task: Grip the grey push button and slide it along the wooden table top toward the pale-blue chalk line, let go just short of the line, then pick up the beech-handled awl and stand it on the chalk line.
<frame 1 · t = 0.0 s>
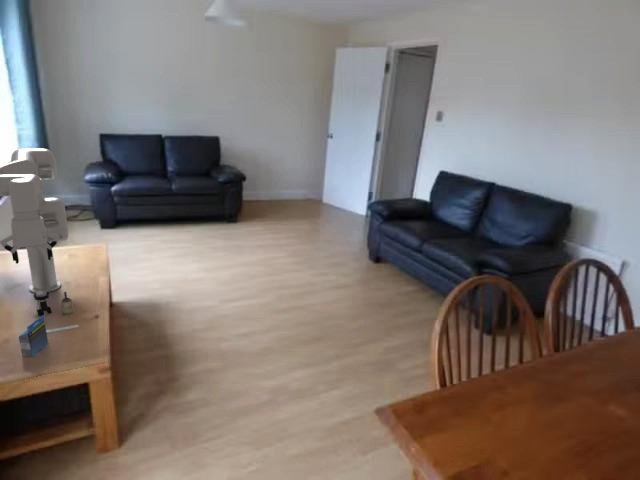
hand: (33, 260, 150), 31 cm above the table, tool pointing down, fingers open, 9 cm apart
push button: (42, 314, 174), on the table
chalk line: (59, 329, 165), on the table
awl: (67, 313, 176), on the table
label tape cartridge: (35, 350, 152), on the table
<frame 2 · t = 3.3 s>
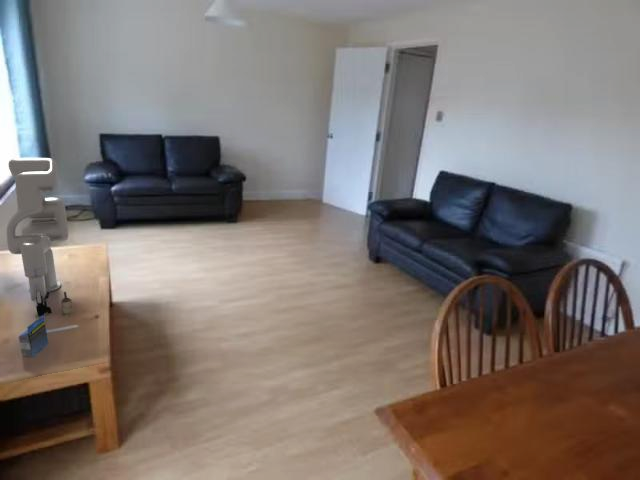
hand: (42, 310, 173), 2 cm above the table, tool pointing down, fingers closed on push button, 3 cm apart
push button: (42, 314, 174), on the table, touching gripper
everything else where it was.
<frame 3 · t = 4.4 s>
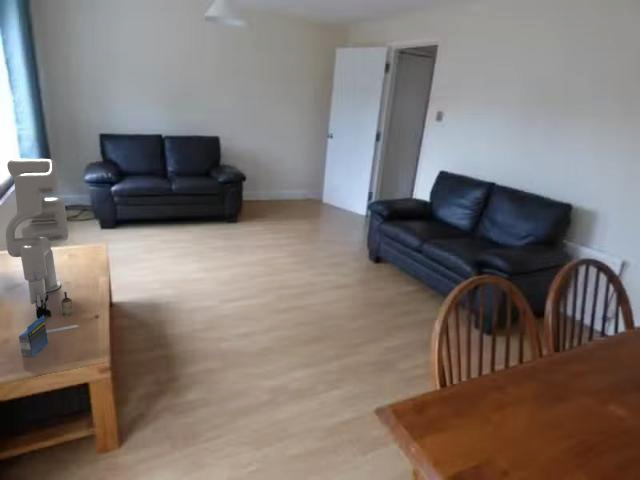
hand: (41, 314, 171), 2 cm above the table, tool pointing down, fingers closed on push button, 3 cm apart
push button: (42, 317, 171), on the table, touching gripper
everything else where it was.
when the fingers open (2 cm above the table, at t = 5.8 s): push button stays where it is, on the table.
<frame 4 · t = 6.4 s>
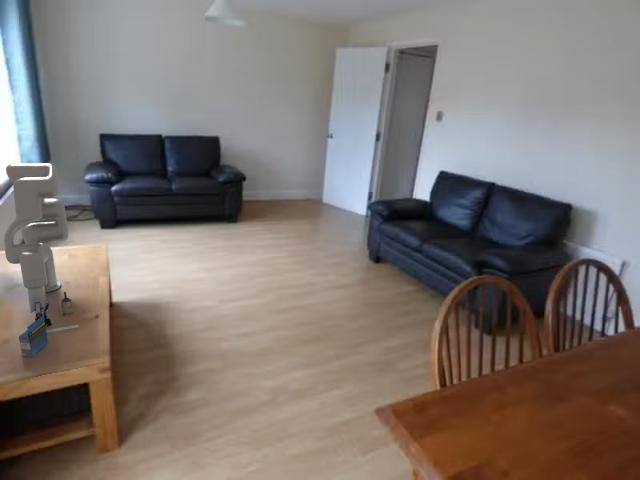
hand: (41, 320, 165), 3 cm above the table, tool pointing down, fingers open, 9 cm apart
push button: (42, 327, 166), on the table
everything else where it was.
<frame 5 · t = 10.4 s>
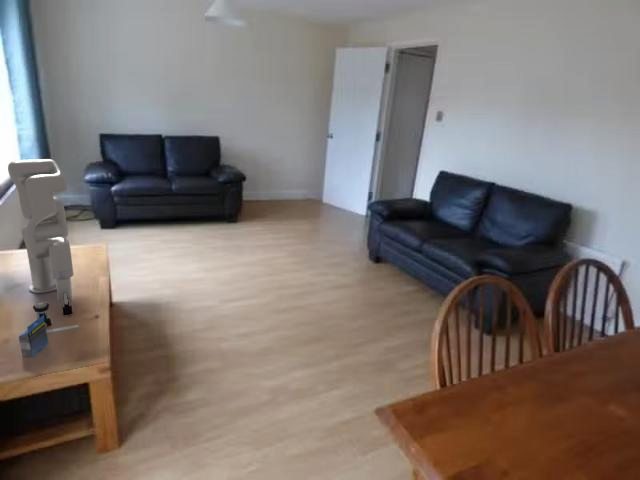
hand: (67, 311, 176), 1 cm above the table, tool pointing down, fingers closed on awl, 4 cm apart
awl: (67, 313, 176), on the table, touching gripper
everything else where it was.
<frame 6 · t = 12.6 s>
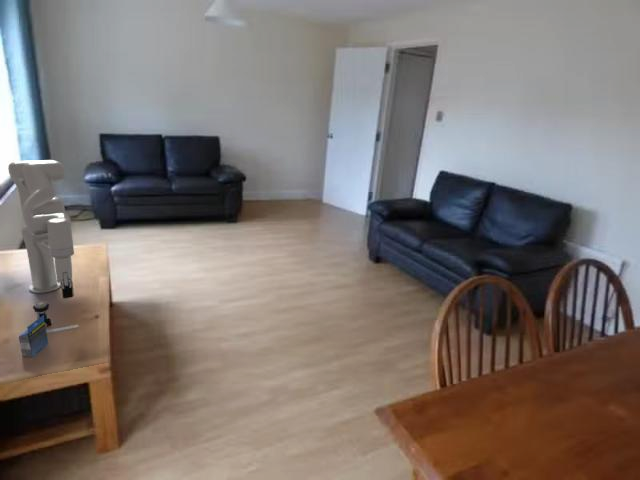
hand: (67, 294, 162), 15 cm above the table, tool pointing down, fingers closed on awl, 4 cm apart
awl: (68, 296, 162), point 14 cm above the table, touching gripper
everything else where it was.
when the fingers open (2 cm above the table, at t = 15.1 s): awl stays where it is, resting on chalk line.
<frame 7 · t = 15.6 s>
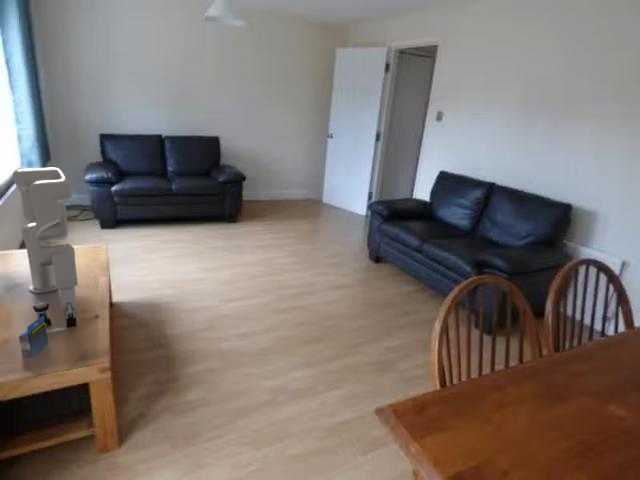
hand: (71, 320, 166), 3 cm above the table, tool pointing down, fingers open, 9 cm apart
awl: (72, 326, 167), resting on chalk line
everything else where it was.
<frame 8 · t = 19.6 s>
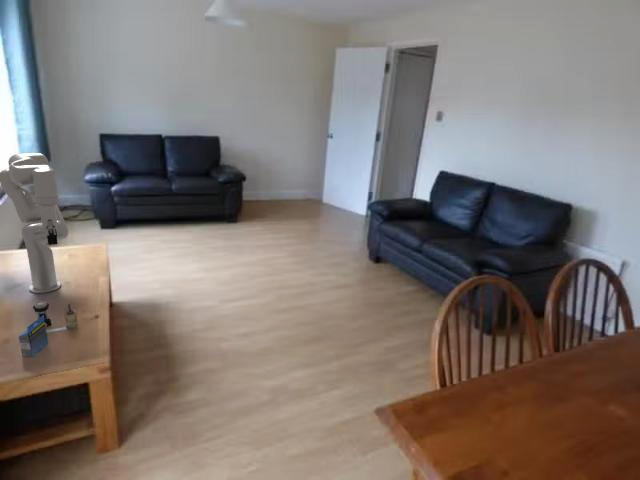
hand: (52, 240, 172), 30 cm above the table, tool pointing down, fingers open, 9 cm apart
nothing on the table moved.
at the end: push button inside the target area (0.1 cm from its centre), on the table; awl 0.2 cm from the target spot, on the table; awl tilted 0° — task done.
